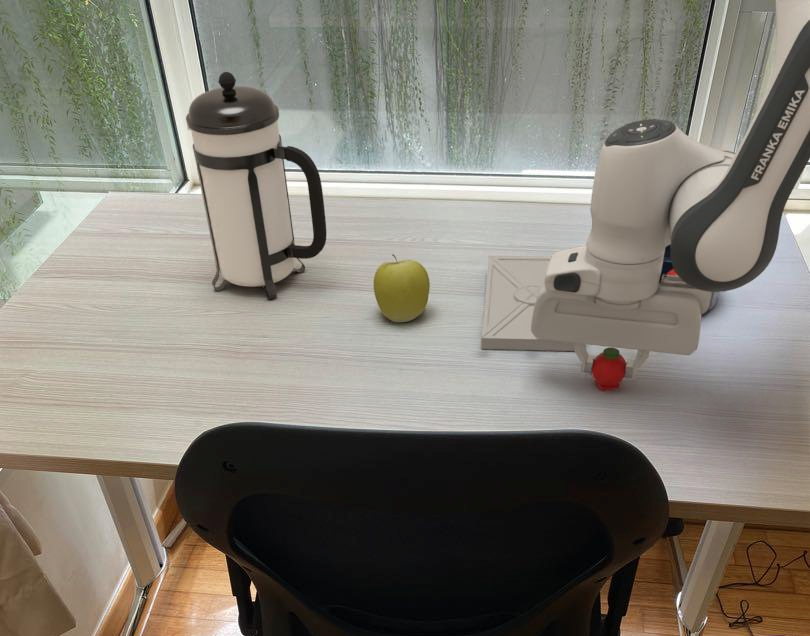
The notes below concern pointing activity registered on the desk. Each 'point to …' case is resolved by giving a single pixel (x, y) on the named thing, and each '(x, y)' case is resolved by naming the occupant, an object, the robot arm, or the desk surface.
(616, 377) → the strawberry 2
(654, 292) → the robot arm
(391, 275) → the apple
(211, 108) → the coffee press
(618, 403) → the desk surface
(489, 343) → the envelope
